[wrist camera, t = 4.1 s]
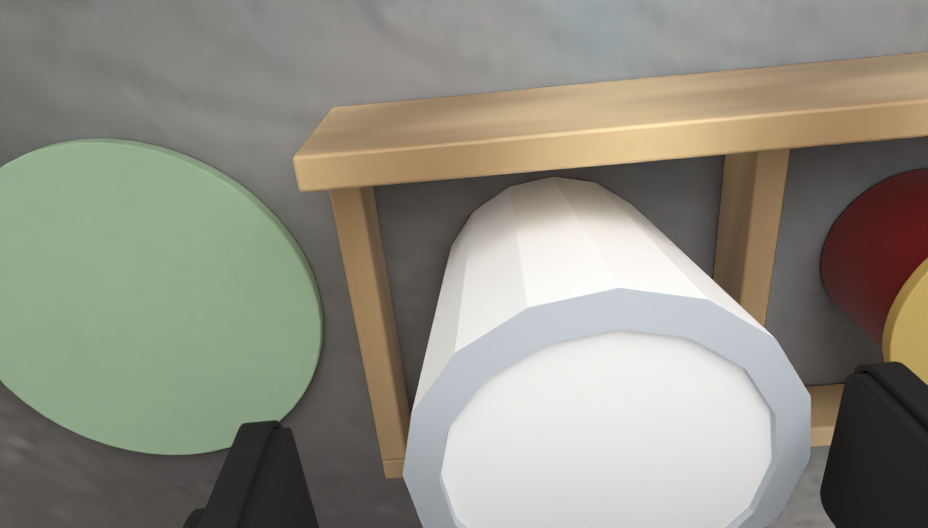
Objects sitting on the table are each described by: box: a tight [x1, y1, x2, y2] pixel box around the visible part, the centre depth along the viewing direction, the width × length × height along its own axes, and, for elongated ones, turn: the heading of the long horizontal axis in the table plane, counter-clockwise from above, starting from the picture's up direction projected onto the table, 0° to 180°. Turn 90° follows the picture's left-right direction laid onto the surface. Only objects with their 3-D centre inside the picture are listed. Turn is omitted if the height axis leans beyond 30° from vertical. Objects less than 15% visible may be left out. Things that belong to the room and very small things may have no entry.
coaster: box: [0, 138, 324, 455], centre depth 17 cm, size 10×10×1 cm
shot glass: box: [403, 177, 811, 528], centre depth 14 cm, size 7×7×7 cm
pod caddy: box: [293, 52, 928, 479], centre depth 15 cm, size 19×10×4 cm, turn 95°
